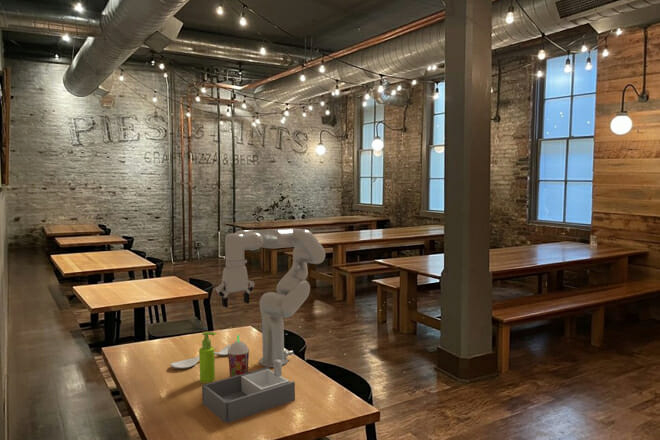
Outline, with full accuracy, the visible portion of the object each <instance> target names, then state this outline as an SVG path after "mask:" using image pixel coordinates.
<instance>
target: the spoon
mask: <svg viewBox="0 0 660 440" xmlns="http://www.w3.org/2000/svg"><path fill="white" fill-rule="evenodd" d="M230 346H231V344H227V345H225V347H223V348H222V349H220V350H219V351H218V352H216V351H214V355H216V356H217V355H218V356H221V357H224V356H228V350H229V348H230ZM198 361H200V358H199V356H196V357H192V358H188V359H183V360H179V361H174V362H171V363H170V367H171V368H173V369H182V370H183V369H188V368H190V367H191V368H192V367H193V366H195V365H196V364H197V363H198Z"/></svg>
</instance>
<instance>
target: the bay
mask: <svg viewBox="0 0 660 440" xmlns="http://www.w3.org/2000/svg"><path fill="white" fill-rule="evenodd" d="M266 369H270V367H264V368H259V369H256V370H252V371H248V373H244V374H241V375H237V376H233V377H230V376H229V377H227V378H224V379H220V380H216V381H215V380H214V381H213V382H210V383H203V384H201V394H202V395H201V402H202V405H204V407H206V408H207V409H208V410H209V411H211V412H212V413H213V414H214V415H215V416H217V417H218V418H219V419H220V420H221V421H223V422H224V423H225V424H228V423H229V424H230V423H233V422H235V421H238V420H241V419H243V418H247V417H249V416H253V415H255V414H256V415H257V414H258V413H262V412H264V411H267V410H271V409H273V408H276V407H279V406H283V405H285V404H288V403H291V402H294V401H296V382H295V380H294V381H293V380H292V381H289V383H286V384H283V385H279V386H276V387H273V388H270V389H266V390H263V391H260V392H257V393H253V394H250V395H246V394H245V393H244V392H242V390H241V376H244V375H248V374H252V373H255V372H259V371H262V370H266Z"/></svg>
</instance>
